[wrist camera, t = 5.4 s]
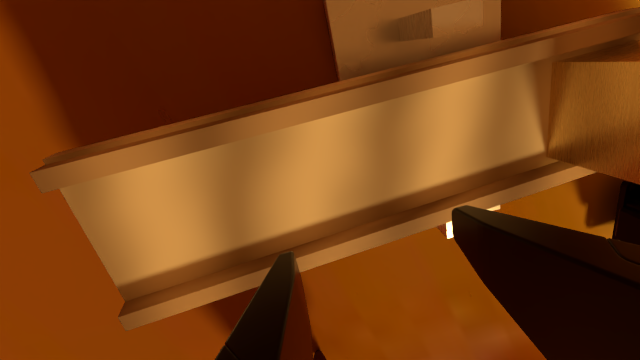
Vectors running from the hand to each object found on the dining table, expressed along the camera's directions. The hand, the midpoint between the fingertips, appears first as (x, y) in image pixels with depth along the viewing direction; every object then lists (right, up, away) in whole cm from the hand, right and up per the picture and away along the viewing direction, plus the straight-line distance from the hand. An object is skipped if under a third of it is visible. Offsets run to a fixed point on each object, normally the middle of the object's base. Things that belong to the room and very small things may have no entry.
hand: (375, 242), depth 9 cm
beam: (+2, +3, +7) cm, 8 cm away
